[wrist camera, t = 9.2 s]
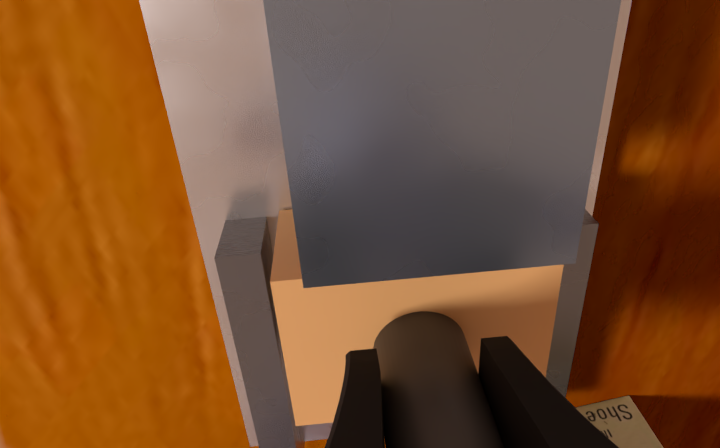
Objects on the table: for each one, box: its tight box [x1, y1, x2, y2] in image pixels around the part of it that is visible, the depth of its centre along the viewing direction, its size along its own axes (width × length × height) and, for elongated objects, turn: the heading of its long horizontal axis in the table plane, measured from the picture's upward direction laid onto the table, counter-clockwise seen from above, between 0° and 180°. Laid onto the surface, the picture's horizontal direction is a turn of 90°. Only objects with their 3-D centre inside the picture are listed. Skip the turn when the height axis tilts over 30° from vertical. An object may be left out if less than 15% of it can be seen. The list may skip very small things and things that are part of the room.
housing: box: [263, 0, 621, 288], centre depth 11 cm, size 6×5×6 cm
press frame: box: [139, 0, 632, 448], centre depth 15 cm, size 20×12×5 cm, turn 3°
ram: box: [270, 209, 564, 448], centre depth 13 cm, size 5×7×8 cm
